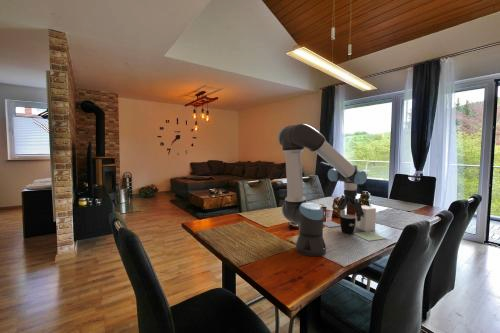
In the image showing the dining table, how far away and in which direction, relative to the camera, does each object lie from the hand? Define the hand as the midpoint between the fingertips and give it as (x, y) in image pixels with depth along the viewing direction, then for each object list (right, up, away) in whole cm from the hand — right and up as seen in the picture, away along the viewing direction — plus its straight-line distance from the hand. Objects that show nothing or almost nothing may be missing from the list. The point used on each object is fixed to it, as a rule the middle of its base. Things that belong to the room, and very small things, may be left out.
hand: (349, 222), depth 148 cm
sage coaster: (+8, -6, -8) cm, 13 cm away
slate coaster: (-7, -5, +15) cm, 17 cm away
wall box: (+13, -5, +7) cm, 16 cm away
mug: (0, -6, 0) cm, 6 cm away
